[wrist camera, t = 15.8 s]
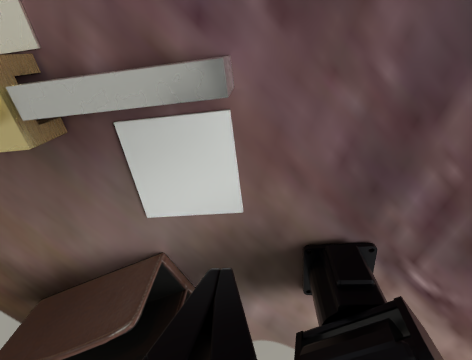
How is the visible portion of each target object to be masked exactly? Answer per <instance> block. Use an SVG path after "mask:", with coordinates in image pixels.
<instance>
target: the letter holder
mask: <svg viewBox="0 0 472 360" xmlns="http://www.w3.org/2000/svg"><path fill="white" fill-rule="evenodd" d="M194 289H195V287H194V286H193V285H192V284H191V283H190V282H189V281H188V279H187V278H186V277H185V276H184V275H183V274H182V273H181V271H180V270H179V269H178V268H177V267H176V266H175V265H174V263H173V262H172V261H171V260H170V259H169V258H168V256H167V255H166V254H165V253H161V254H159V255H156V256H153V257H150V258H149V259H145V260H143V261H140V262H138V263H135V264H133V265H130V266H127V267H125V268H122V269H120V270H117V271H115V272H112V273H109V274H107V275H104V276H101V277H99V278H96V279H94V280H91V281H88V282H86V283H83V284H81V285H78V286H76V287H73V288H70V289H68V290H65V291H63V292H60V293H58V294H55V295H53V296H50V297H48V298H45V299H43V300H41V301H39V302H38V304H37V305H36V306H35V308H34V309H33V310H32V311H31V312H30V314H29V315H28V316H27V317H26V319H25V320H24V321H23V322H22V324H21V325H20V326H19V327H18V328H17V330H16V331H15V332H14V334H13V335H12V336H11V337H10V339H9V340H8V341H7V342H6V344H5V345H4V346H3V347H2V349H1V350H0V360H142V359H143V358H144V357H145V356H147V353H148V352H149V350H150V349H151V347H152V346H153V345H154V343H155V342H156V341H157V339H158V338H159V337H160V335H161V334H162V333H163V331H164V330H165V329H166V327H167V326H168V324H169V323H170V322H171V320H172V319H173V318H174V316H175V315H176V314H177V312H178V311H179V310H180V308H181V307H182V306H183V304H184V303H185V302H186V300H187V299H188V297H189V296H190V295H191V293H192V292H193V291H194Z"/></svg>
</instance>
